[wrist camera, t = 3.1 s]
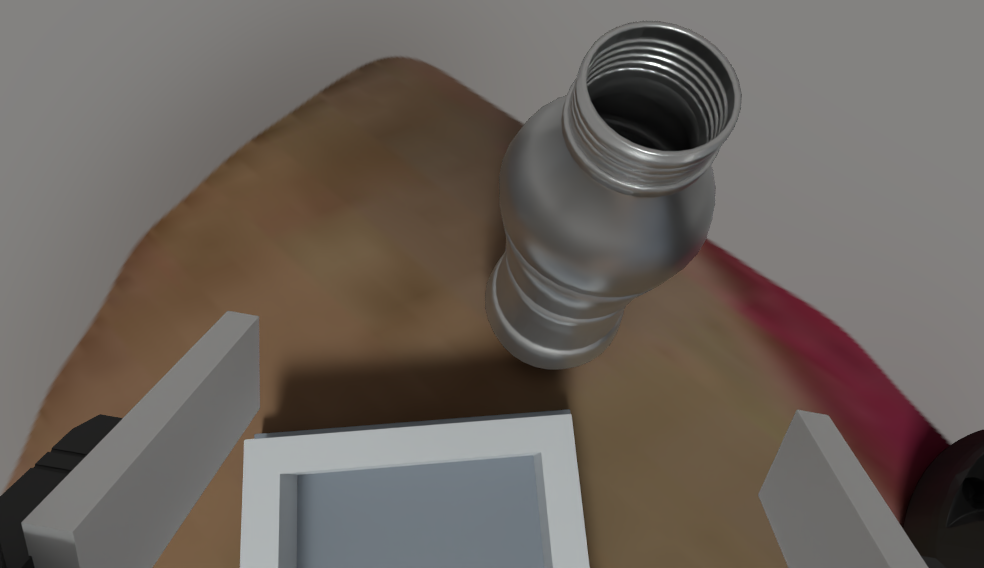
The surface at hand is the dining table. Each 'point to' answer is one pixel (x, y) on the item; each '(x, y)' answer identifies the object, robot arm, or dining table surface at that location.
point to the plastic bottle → (609, 190)
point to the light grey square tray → (416, 495)
